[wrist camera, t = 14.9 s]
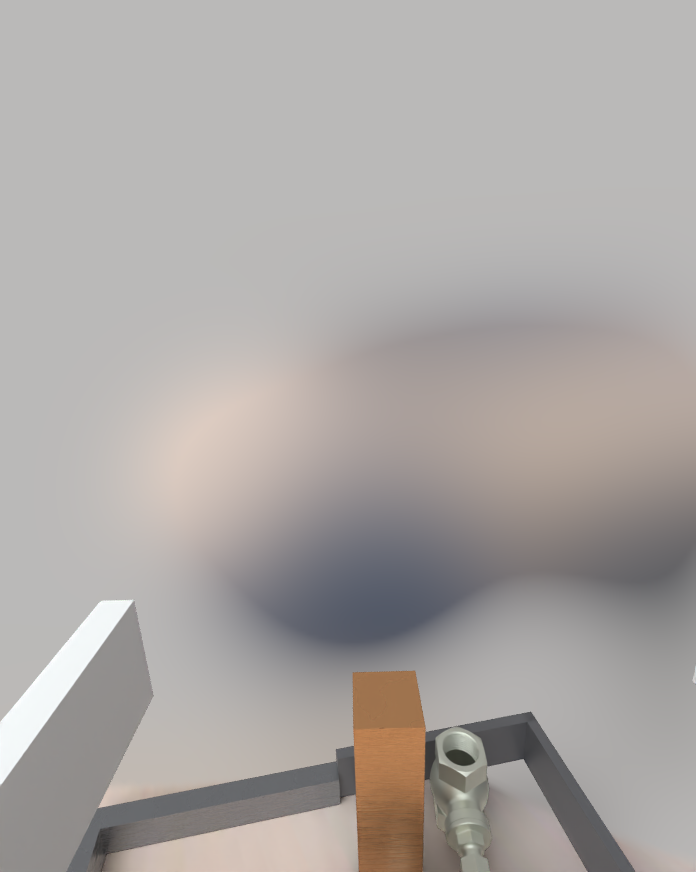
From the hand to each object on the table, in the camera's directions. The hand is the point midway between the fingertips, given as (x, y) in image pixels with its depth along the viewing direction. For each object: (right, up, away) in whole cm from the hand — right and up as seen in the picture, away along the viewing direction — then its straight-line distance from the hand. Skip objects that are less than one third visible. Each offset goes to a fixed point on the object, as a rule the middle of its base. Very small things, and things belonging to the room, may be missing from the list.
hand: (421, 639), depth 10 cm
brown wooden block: (+1, -26, +18) cm, 31 cm away
